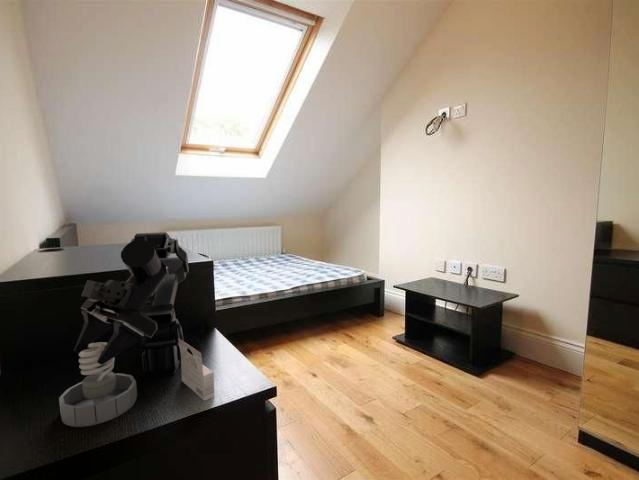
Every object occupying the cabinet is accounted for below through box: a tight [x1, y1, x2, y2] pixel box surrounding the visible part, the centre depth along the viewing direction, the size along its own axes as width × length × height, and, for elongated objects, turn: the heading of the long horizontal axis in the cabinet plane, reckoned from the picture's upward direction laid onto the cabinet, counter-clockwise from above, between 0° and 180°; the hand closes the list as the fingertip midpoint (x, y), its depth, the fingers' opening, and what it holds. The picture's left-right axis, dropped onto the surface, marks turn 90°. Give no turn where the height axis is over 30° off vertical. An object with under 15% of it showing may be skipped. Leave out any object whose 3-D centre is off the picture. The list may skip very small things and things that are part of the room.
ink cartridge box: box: [178, 339, 215, 402], centre depth 72 cm, size 2×11×10 cm, turn 43°
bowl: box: [58, 372, 138, 428], centre depth 67 cm, size 12×12×4 cm
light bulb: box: [78, 341, 116, 404], centre depth 66 cm, size 6×6×12 cm
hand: (87, 357), depth 64 cm, fingers open, 9 cm apart
